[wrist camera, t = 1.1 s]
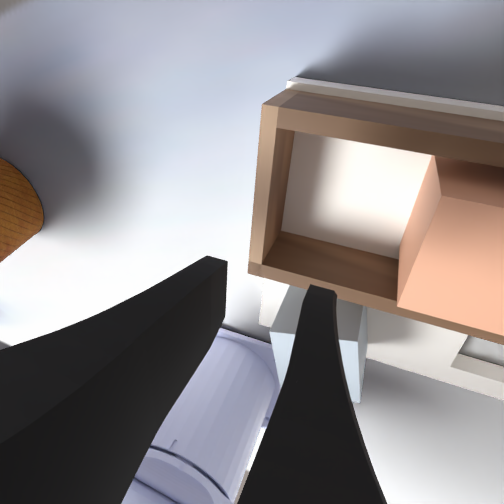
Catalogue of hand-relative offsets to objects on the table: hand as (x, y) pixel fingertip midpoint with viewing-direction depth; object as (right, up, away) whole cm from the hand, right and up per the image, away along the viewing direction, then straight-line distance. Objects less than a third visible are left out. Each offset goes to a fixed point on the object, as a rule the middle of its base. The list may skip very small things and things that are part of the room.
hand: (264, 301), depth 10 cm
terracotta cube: (+9, +3, +5) cm, 11 cm away
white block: (+4, -2, +11) cm, 12 cm away
